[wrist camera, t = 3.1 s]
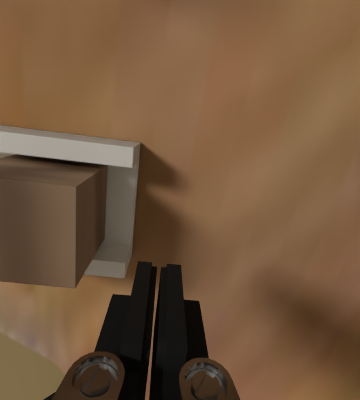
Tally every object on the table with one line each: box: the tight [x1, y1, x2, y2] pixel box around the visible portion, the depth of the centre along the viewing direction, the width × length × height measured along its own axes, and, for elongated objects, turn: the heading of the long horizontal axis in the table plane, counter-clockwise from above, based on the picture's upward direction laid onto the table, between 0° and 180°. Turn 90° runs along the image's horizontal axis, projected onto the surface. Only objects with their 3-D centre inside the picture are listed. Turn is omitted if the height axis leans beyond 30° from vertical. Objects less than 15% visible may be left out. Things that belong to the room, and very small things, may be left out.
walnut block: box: [0, 154, 108, 288], centre depth 16 cm, size 6×6×6 cm
